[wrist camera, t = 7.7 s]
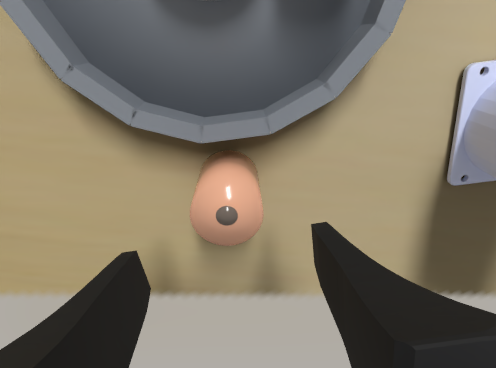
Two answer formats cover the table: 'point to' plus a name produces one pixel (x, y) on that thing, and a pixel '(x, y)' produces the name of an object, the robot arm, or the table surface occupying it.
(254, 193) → the terracotta bead
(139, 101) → the groove tray
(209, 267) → the table surface
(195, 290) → the table surface
